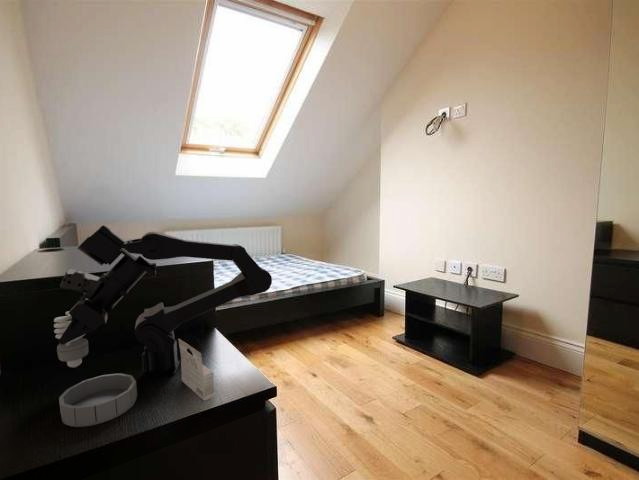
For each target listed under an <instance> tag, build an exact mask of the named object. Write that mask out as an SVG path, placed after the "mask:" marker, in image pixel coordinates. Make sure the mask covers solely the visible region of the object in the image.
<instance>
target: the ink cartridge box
mask: <svg viewBox="0 0 639 480" xmlns="http://www.w3.org/2000/svg"><path fill="white" fill-rule="evenodd" d="M177 340H178V341H177V342H178V346H179V353H180V365H181V367H180V368H181V382H182V383H184V385H186V386H187V387H188V388H189V389H190V390H192V391H193V392H194V393H195V394H196V395H197V396H198V397H199V398H200V399H201V400H203V401H204V402H205V401H208V400H211V399H213V398H214V397H215V380H214V379H215V378H214V372H213V371H212V369H209V368H208V367H206V366H205V365H204V364H203V358H202V353H201V352H200V351H199V350H197V349H195V348H194V347H193V346H191V345H190V344H188V343H187V342H185V341H183V340H182V339H181V338H177ZM188 349H189V351H190V352H191V353H192V354H191V353H190V352H189V351H188Z"/></svg>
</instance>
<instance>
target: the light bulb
mask: <svg viewBox="0 0 639 480" xmlns="http://www.w3.org/2000/svg"><path fill="white" fill-rule="evenodd" d="M69 311H70V310H69ZM69 311H65V316H64V315H63V316H58V317H55V318H54V319H53V322H54V324H53V327H54V330H53V332H54V334H55V339H58V340H59V339H60V338H61V336H62V335H63V333H64V332H65V330H66V329H67V327H68V326H69V324H70V323H71V321H72V317H71V315H70V314H69ZM84 336H86V334H84V335H82V336H80V337H78V338H76V339H74V340H72V341H70V342H68V343H65V344H63V345H62V344H60V343H59V344H58V345H57V347H56V352H57V353H56V354H57V357H58V360H59V361H61V362H66V364H67V366H68V367H69V368H74V369H75V368H77V367H79V366H80V365H81V364H82V362H83V358H85V357H86V356H87V355H88V354H89V340H88V339H87V338H83V337H84Z"/></svg>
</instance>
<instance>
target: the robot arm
mask: <svg viewBox="0 0 639 480" xmlns="http://www.w3.org/2000/svg"><path fill="white" fill-rule="evenodd" d="M77 250H78V251H80V252H82V253H83V254H84V255H85V256H87V257H88V258H90V259H91V260H92V261H94V262H95V263H97V264H98V265H100V266H103V265H108V266H110V265H112V264H113V263H114V262H115V261H116V260H117V259H118V258H119V256H120V255H123V256H122V257H121V258H120V259H119V260H118V261H117V262H116V263H115V264H114V265H113V266H112V267H111V268H110V269H109V270H108V271H107V272H106V273H105V272H104V273H102V275H101V276H98V275H95V274H91V273H88V272H85V271H81V270H77V269H73V268H70V269H68V270H66V271H65V274H64V276H63V277H62V279H61V283H60V285H59V287H60V288H61V289H63V290H64V289H65V290H72V291H76V292H80V293H83V296H81V297H80V298H79V300H78V301H77V302H76V303H75V305H74V306H73V307H71V309H70V310H69V314H70V315H71V317H72V319H71V320H70V321H71V323H70V324H69V326H68V327H67V329H66V330H65V332H64V333H63V335H62V336H61V338H60V339H58V341H57V342H58V343H59V344H62V345H63V344H65V343H68V342H70V341H72V340H74V339H76V338H78V337H80V336H82V335H84V334H85V335H86V334H88V333H90V332H93V331H95V332H99V331H100V330H102V328H103V327H104V326H105V325H107V322H108V321H107V320H108V318H109V317H108V313H111V312H112V310H114V308H115V306H116V305H117V304H118V303H119V301H121V300H122V299H123V298H125V297H126V296H127V295H128V294H129V291H131V289H132V288H133V287H134V286H135V285H136V284H137V282H138V281H140V279H141V278H142V277H143V276H144V275H145V274H146V273H148V274H149V275H151V276H152V277H154V278H155V277H156V276H157V271H156V268H157V263H156V262H149V261H148V260H150V261H157V260H170V259H176V258H193V259H194V258H195V259H204V260H205V259H207V260H219V261H230V262H231V261H232V262H233V263H234V265H235V266H236V267H237V268H238V270H239V271H240V273H238V274H237V275H236V276H235V277H234V278H233V279H232V280H230V281H228V282H225V284H224V283H223V284H221V285H219V286H216V287H214V288H213V289H212V288H211V289H210V290H208V291H206V292H203V293H200V294H198V295H195V296H194V297H191V298H190V299H188V300H187V299H186V300H185V301H182V302H179V303H178V304H176V305H172V306H164V303H163V302H159V303H158V304H156V305H155V306H152V307H149V308H144V312H142V313H141V314H140V315H138V316H137V319H136V321H135V326H134V337H135V339H136V340H137V342H139V343H140V344H141V345H142V344H143V345H144V348H143V351H144V352H143V353H142V354H141V358H142V359H141V361H142V370H143V371H142V372H143V373H144V374H143V378H144V379H145V378H155V377H156V378H157V377H163V376H173V375H175V374H176V372H177V371H178V367H179V365H180V364H181V360H178V343H177V339H175V334H174V333H175V332H174V330H175V329H177V328H178V327H179V326H180V325H181V324H183V323H185V322H188V321H190V320H192V319H194V318H196V317H199V316H201V315H203V314H206V313H207V312H210V311H212V310H214V309H216V308H218V307H220V306H222V305H225V304H226V303H229V302H231V301H234V300H235V299H238V298H243V297H252V296H255V295H259V294H262V293H265V292H267V291H268V290H269V289H271V285H272V283H273V278H272V275H271V273H270V272H269V271H268V270H266V269H264V268H262V267H260V265H258V263H257V262H256V261H255V259H253V258H252V256H251V255H250V254H249V253H248V252H247V250H246V248H245V247H243V246H242V245H241V244H237V243H236V244H235V243H234V244H230V243H228V244H226V243H217V242H208V241H199V240H189V239H188V240H187V239H183V238H179V237H177V236H172V235H169V234H166V233H163V232H162V233H161V232H158V231H147V232H146V233H145V234H143V235H142V236H141V238H140V237H139V238H135V239H129V240H123V239H122V238H120V236H118V235H117V234H116V233H115V232H113V231H112V230H111V229H110V228H109V227H108V226H106V225H104V224H103V225H101V226H100V227H99V228H98V229H97V230H96V231H95V232H94V233H93V234H91V235H89V236H88V237H87V238H86V239H84V241H82V243H81V244H80V245H79V246H77ZM133 254H134V255H138V256H137V257H135V256H134V255H133ZM85 335H84V336H85Z"/></svg>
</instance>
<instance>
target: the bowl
mask: <svg viewBox="0 0 639 480" xmlns="http://www.w3.org/2000/svg"><path fill="white" fill-rule="evenodd" d="M137 389H138V388H137V380H136V379H135V378H134V376H133V375H131V374H125V373H120V372H119V373H110V374H109V373H108V374H103V375H99V376H95V377H92V378H87V379H84V380H82V381H81V382H80V381H79V382H78V383H76V384H75V385H73V386H70V387H69V388H66V390H65V391H64V392H63V393H62V394H61V395H60V396H59V397H58V402H59V409H60V410H59V411H60V417H61V422H62V423H63V424H64V425H66V426H69V427H72V428H85V427H92V426H96V425H100V424H103V423H105V422H108V421H111V420H113V419H116V418H118V417H120V416H122V415H124V414H125V413H126V412H127V411H129V410H131V408H132V407H133V406H134V405H135V403H136V401H137V397H138V390H137Z"/></svg>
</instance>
